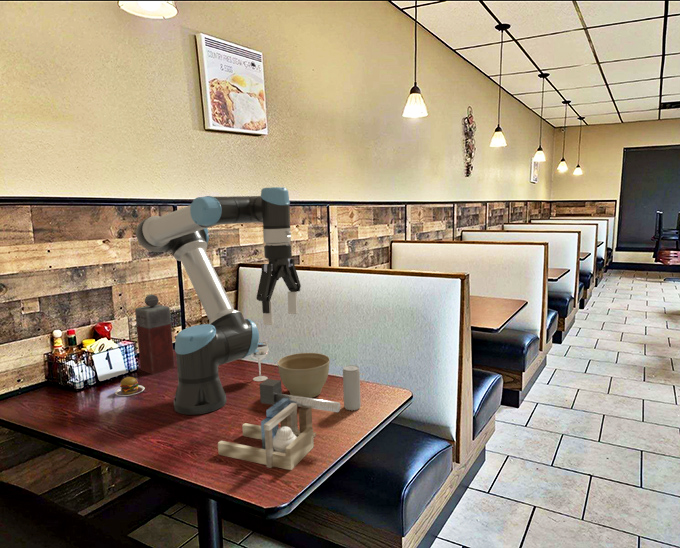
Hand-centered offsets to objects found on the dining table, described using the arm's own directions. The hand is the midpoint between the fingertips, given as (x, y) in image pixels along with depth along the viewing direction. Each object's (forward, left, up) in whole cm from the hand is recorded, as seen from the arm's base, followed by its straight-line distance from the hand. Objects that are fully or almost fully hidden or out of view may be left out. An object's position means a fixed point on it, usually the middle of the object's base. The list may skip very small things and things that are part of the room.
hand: (281, 319), depth 137 cm
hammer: (+13, -19, -26) cm, 35 cm away
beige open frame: (+8, -23, -27) cm, 36 cm away
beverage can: (+18, +7, -27) cm, 33 cm away
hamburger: (-56, -5, -28) cm, 62 cm away
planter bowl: (0, +12, -27) cm, 30 cm away
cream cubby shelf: (+11, -14, -27) cm, 32 cm away
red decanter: (-65, +16, -27) cm, 72 cm away
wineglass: (-21, +19, -27) cm, 39 cm away
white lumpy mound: (+13, -23, -27) cm, 38 cm away
